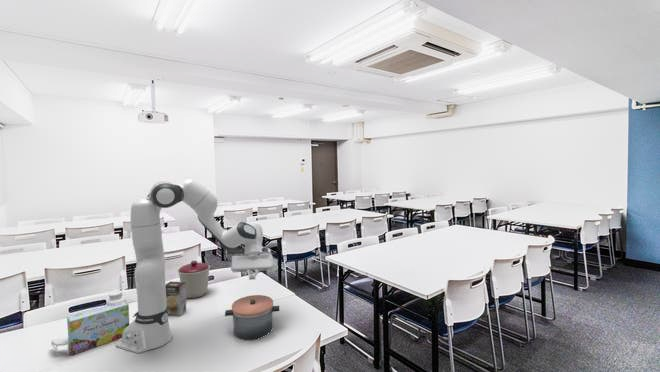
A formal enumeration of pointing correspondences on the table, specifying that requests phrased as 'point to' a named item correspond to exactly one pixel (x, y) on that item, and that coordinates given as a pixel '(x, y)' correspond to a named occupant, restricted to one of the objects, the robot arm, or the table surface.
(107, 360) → the table surface
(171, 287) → the coffee box
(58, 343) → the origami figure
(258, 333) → the cooker pot
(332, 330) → the table surface
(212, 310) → the table surface
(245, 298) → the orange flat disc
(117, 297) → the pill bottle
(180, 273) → the canister
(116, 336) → the snack box
